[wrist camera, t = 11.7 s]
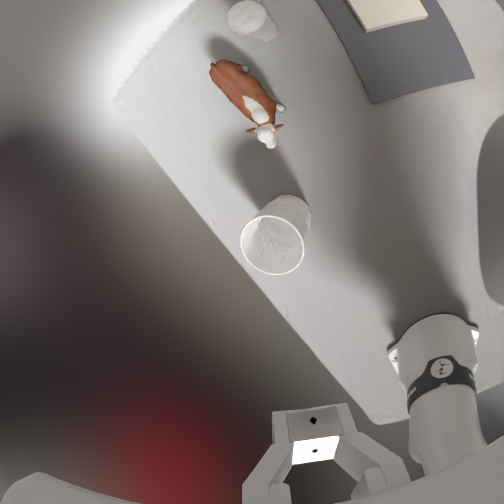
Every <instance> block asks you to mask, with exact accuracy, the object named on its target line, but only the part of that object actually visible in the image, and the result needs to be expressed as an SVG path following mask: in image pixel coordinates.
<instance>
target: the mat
mask: <svg viewBox="0 0 504 504" xmlns="http://www.w3.org/2000/svg"><path fill="white" fill-rule="evenodd" d="M419 1H420V2H421V4H422V5H423V7H424V9H425V10H426V12H427V14H428V16H427V18H426V19H422V20H417V21H412V22H407V23H403V24H398V25H394V26H390V27H386V28H382V29H379V30H375V31H371V32H368V33H366V32H365V30H364V28H363V27H362V25H361V23H360V22H359V20H358V18H357V17H356V15H355V13H354V12H353V10H352V9H351V7H350V5H349V4H348V2H347V1H346V0H317V2H318V3H319V5H320V6H321V8H322V9H323V11H324V13H325V14H326V16H327V17H328V19H329V21H330V22H331V24H332V26H333V27H334V29H335V31H336V32H337V34H338V36H339V38H340V39H341V41H342V43H343V45H344V46H345V48H346V50H347V52H348V54H349V56H350V58H351V60H352V62H353V64H354V65H355V67H356V69H357V72H358V74H359V76H360V78H361V80H362V82H363V84H364V86H365V88H366V91H367V93H368V95H369V97H370V100H371V102H372V104H374V103H378V102H381V101H384V100H387V99H391V98H394V97H398V96H401V95H405V94H408V93H412V92H416V91H420V90H423V89H427V88H431V87H435V86H440V85H444V84H448V83H453V82H458V81H462V80H467V79H472V78H475V77H474V74H473V72H472V69H471V67H470V64H469V62H468V60H467V57H466V55H465V53H464V51H463V49H462V46H461V44H460V42H459V40H458V38H457V36H456V34H455V32H454V30H453V28H452V26H451V25H450V23H449V21H448V19H447V17H446V15H445V14H444V12H443V10H442V9H441V7H440V5H439V4H438V2H437V0H419Z"/></svg>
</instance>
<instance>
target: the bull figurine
mask: <svg viewBox="0 0 504 504" xmlns="http://www.w3.org/2000/svg"><path fill="white" fill-rule="evenodd" d="M244 72H245V73H248V72H249V68H248V67H247V66H243V65H239V64H236V63H235V62H231V61H228V60H220V61H218V62H216V64H214V63H211V69H210V71H209V74H210V76H211V79H212V81H213V82H214V83H215V84H216V85H217V86H218V87H219V88H220V89H221V90H222V91H223V93H224V94H225V95H226V96H227V98H228V99H229V100H230V101H231V102H232V103H233V104H234V105H235V106H236V107H237V108H238V109H239V110H240V111H241V112H242V113H243V114H244V115H245V116H246V117H247V118H249V119H250V120H252V121H253V122H255V123H256V124H257V125H258V128H251V129H248V130H246V132H248V133H256V134H257V137H258V139H259V141H261V142H263V143H265V144H266V147H267V148H275V146H276V145H277V140H276V139H275V138H276V134H275V131H276V130H278V129H279V128H281V127H282V126H283V125H284V124H281V125H276V126H275V113H276V110H279V111H280V112H285V111H286V107H285V106H283V105H281V104H278V103H276V102H275V101H274V100H272V99H271V98H270V97H269V96H268V95H267V93H266V91H265V90H264V89H263V87H262V86H261V84H260V83H259V81H258V80H257V79H256V78H254V77H253V76H251V75H248V74H245V73H244Z"/></svg>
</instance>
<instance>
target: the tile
mask: <svg viewBox="0 0 504 504" xmlns="http://www.w3.org/2000/svg"><path fill="white" fill-rule="evenodd" d="M346 1H347V2H348V4H349V5H350V7H351V9H352V10H353V12H354V13H355V15H356V17H357V18H358V20H359V22H360V23H361V25H362V27H363V28H364V30H365V32H366V33H368V32H371V31H375V30H379V29H382V28H386V27H390V26H394V25H398V24H403V23H407V22H412V21H417V20H422V19H426V18H427V16H428V14H427V12H426V10H425V9H424V7H423V5H422V4H421V2H420V1H419V0H346Z"/></svg>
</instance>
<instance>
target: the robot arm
mask: <svg viewBox="0 0 504 504" xmlns="http://www.w3.org/2000/svg"><path fill="white" fill-rule="evenodd" d="M478 337H479V330H478V328H476V327H474V326H470V325H468V324H466V323H465V322H464V321H463V320H462V319H461V318H459V317H457V316H454V315H450V314H438V315H433V316H430V317H427V318H424V319H422V320H420V321H418V322H417V323H415V324H414V325H412V326H411V327H410V328H409V329H408V330H407V331H406V332H405V333H404V335H403V336H402V338H401V339H400V341H399V342H398V343H397V344H395V345H394V346H393V347H391V348H390V349H389V350H388V357H389V359H390V361H391V363H392V365H393V366H394V368H395V370H396V372H397V374H398V379H399V384H401V385H402V387H403V389H404V391H405V392H406V394H407V409H408V413H409V415H410V434H409V435H410V436H409V453H410V455H411V457H412V458H413V459H414V460H415V461H417V462H419V463H421V464H422V465H423V468H424V472H425V477H424V478H421V479H418V480H416V481H413V482H411V480H410V478H409V475H408V473H407V470H406V468H405V466H404V463H403V460H402V458H400V457H398V456H397V455H395V454H394V453H392V452H391V451H389V450H388V449H386V448H384V447H383V446H381V445H380V444H378V443H377V442H375V441H374V440H372V439H371V438H370V437H368V436H367V435H365V434H364V433H362V432H357V429H356V427H355V424H354V421H353V418H352V415H351V412H350V410H349V407H348V404H346V403H342V404H336V405H328V406H322V407H316V408H310V409H302V410H291V411H277V412H272V431H273V432H272V433H273V445H271V446H270V448H269V449H268V451H267V452H266V453H265V455H264V456H263V458H262V459H261V461H260V462H259V463H258V465H257V466H256V467H255V469H254V470H253V471H252V473H251V474H250V475H249V477H248V478H247V480H246V481H245V482H244V483H243V485H242V504H291V497H290V489H289V485H287V484H285V483H283V484H282V482H283V481H284V479H285V477H286V475H287V474H288V472H289V470H290V468H291V467H292V464H298V463H305V462H312V461H319V460H326V459H334V461H336V463H338V464H339V465H340V466H341V467H342V468H343V469H344V470H345V471H346V472H347V473H348V474H350V475H351V476H352V477H353V478H354V479H355V480H357V482H358V484H357V486H356V487H355V489H354V491H353V492H352V494H351V498H352V500H350V501H346V502H341V503H337V504H504V436H502V437H501V438H499V439H497V440H496V441H494V442H493V443H491V444H489V445H488V446H487V444H486V442H485V441H484V438H483V436H482V433H481V430H480V424H479V418H478V413H477V407H476V401H475V396H476V382H475V379H474V372H475V371H476V369H477V366H478V357H477V352H476V347H475V346H476V343H477V340H478ZM1 504H140V503H135V502H130V501H126V500H121V499H118V498H114V497H110V496H106V495H103V494H99V493H96V492H93V491H90V490H86V489H83V488H80V487H78V486H75V485H72V484H69V483H66V482H64V481H61V480H59V479H56V478H54V477H52V476H49V475H47V474H44V473H40V472H38V473H34V474H32V475H30V476H27V477H25V478H23V479H21V480H19V481H17V482H15V483H14V484H13V485H12V486H11V487H10V488H9V489H8V491H7V492H6V494H5V496H4V498H3V500H2V502H1Z"/></svg>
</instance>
